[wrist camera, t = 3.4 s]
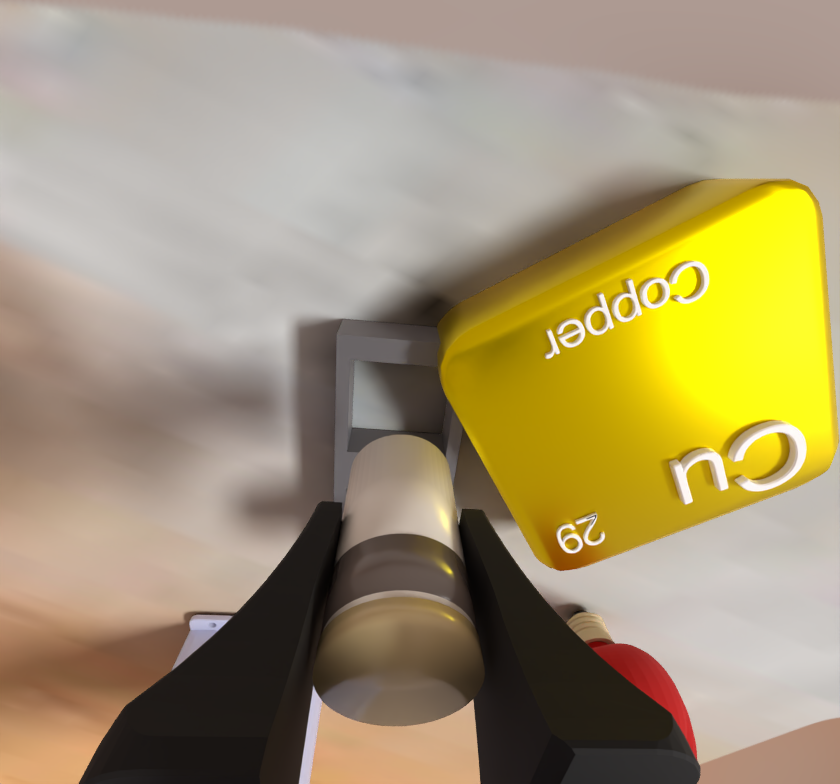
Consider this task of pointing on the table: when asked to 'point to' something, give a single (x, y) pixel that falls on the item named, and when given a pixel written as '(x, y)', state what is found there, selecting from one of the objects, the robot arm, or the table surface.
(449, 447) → the fuse block
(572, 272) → the element tile
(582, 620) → the light bulb
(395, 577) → the fuse
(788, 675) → the table surface
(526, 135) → the table surface
